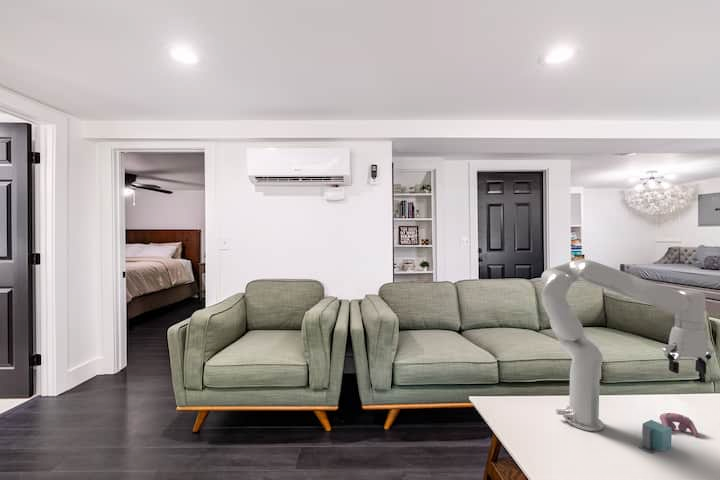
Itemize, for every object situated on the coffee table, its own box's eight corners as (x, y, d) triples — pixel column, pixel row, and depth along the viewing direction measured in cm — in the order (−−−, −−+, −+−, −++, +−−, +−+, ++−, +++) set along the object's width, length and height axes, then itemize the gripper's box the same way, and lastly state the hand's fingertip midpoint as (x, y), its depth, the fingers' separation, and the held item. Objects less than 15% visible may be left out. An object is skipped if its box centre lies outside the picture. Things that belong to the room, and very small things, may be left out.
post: (651, 453, 112) (651, 432, 112) (638, 447, 115) (638, 427, 115) (656, 450, 114) (657, 430, 114) (644, 444, 117) (644, 424, 117)
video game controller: (693, 436, 125) (688, 415, 128) (700, 437, 121) (695, 415, 124) (660, 431, 128) (656, 411, 131) (666, 432, 124) (662, 411, 127)
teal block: (662, 451, 113) (663, 432, 113) (642, 442, 118) (642, 423, 118) (671, 447, 116) (671, 428, 116) (650, 437, 121) (651, 419, 121)
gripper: (702, 322, 125) (700, 368, 125) (655, 321, 125) (654, 367, 125) (724, 328, 117) (722, 377, 118) (674, 327, 117) (672, 376, 118)
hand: (687, 372), depth 122 cm, fingers open, 9 cm apart
